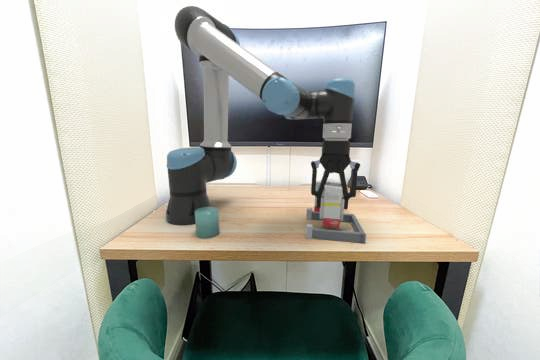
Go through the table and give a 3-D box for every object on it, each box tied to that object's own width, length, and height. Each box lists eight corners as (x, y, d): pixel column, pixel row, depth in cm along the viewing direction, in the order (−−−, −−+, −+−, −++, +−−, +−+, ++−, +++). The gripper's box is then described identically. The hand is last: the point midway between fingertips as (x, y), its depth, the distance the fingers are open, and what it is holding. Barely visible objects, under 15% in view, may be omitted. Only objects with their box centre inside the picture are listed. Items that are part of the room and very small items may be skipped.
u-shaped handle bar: (305, 238, 58) (306, 226, 57) (306, 217, 73) (306, 207, 72) (365, 243, 55) (366, 231, 55) (353, 221, 70) (354, 210, 70)
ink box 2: (340, 229, 59) (343, 188, 57) (321, 227, 60) (324, 186, 58) (338, 217, 67) (341, 181, 65) (322, 216, 68) (324, 180, 66)
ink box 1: (335, 217, 74) (338, 184, 71) (313, 211, 79) (314, 180, 76) (343, 210, 80) (346, 180, 78) (322, 206, 85) (324, 177, 83)
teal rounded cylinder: (191, 237, 58) (190, 213, 57) (203, 227, 64) (201, 206, 63) (213, 239, 57) (212, 215, 56) (222, 229, 63) (221, 207, 62)
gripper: (303, 139, 57) (300, 220, 62) (375, 140, 54) (366, 225, 58) (303, 139, 64) (300, 211, 69) (367, 140, 61) (359, 216, 66)
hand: (330, 218), depth 64 cm, fingers closed on ink box 2, 5 cm apart
